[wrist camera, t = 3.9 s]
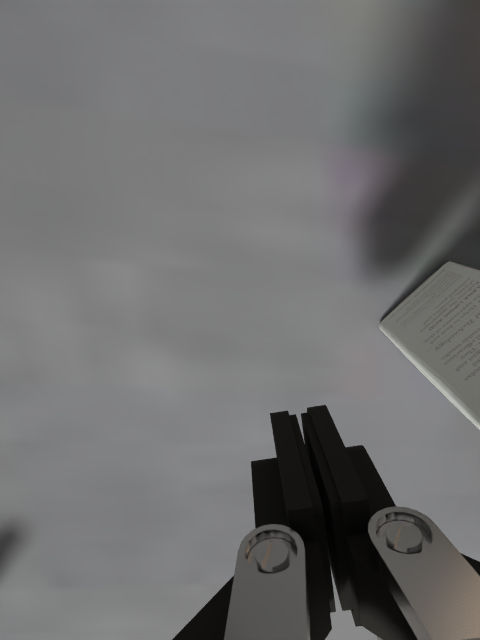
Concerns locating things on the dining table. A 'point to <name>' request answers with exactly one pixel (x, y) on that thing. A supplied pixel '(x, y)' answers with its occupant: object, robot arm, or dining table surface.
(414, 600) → the robot arm
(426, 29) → the dining table surface
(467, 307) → the skincare box
